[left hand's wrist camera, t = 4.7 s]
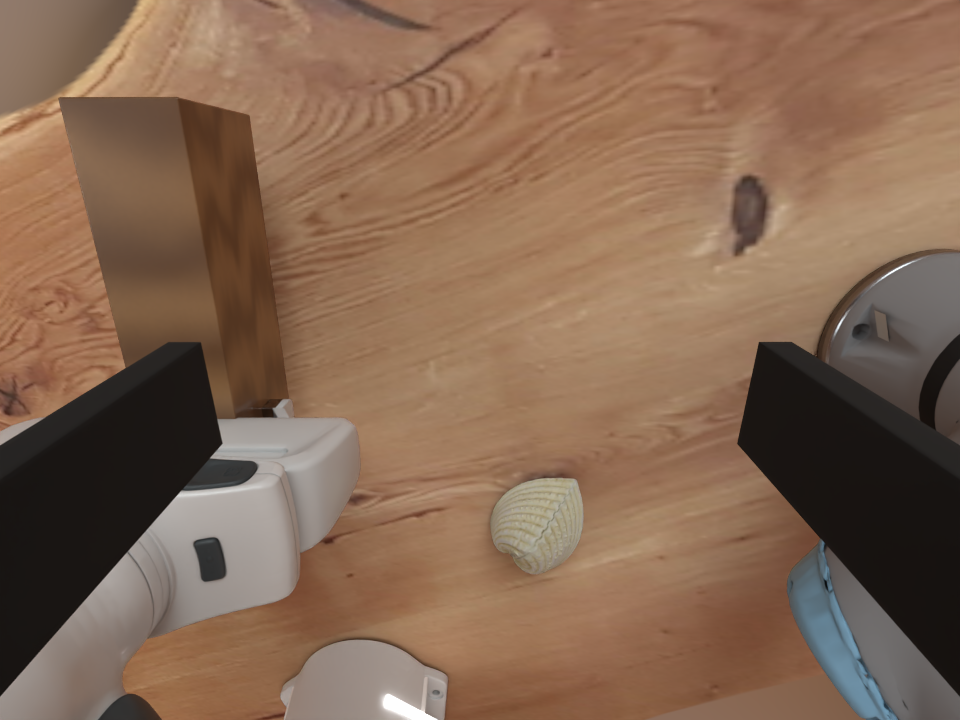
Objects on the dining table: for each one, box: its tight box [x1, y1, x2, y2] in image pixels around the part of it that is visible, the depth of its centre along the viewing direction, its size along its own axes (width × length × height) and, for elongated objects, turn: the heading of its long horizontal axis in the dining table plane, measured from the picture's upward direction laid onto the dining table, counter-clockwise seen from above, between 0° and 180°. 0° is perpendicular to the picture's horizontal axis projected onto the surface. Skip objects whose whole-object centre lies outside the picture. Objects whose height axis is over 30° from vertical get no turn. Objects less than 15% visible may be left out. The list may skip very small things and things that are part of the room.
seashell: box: [490, 478, 583, 574], centre depth 47 cm, size 8×8×8 cm
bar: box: [59, 97, 289, 419], centre depth 32 cm, size 23×6×8 cm, turn 0°
